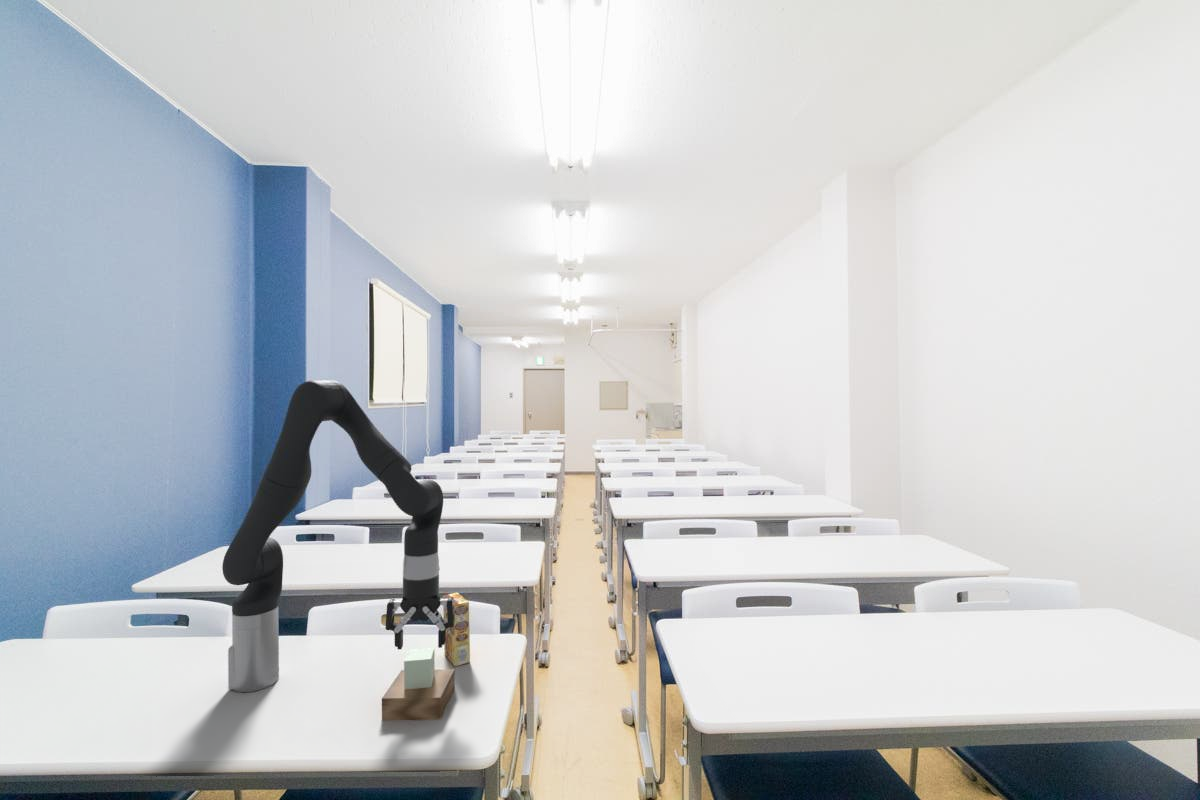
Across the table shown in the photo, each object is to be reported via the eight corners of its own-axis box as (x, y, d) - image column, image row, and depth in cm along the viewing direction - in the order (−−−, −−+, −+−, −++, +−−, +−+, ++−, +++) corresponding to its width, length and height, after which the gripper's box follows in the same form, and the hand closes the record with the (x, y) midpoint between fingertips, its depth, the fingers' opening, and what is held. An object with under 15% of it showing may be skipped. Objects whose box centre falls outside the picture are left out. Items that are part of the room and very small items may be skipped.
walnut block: (381, 722, 115) (381, 698, 115) (401, 692, 127) (401, 670, 127) (440, 721, 115) (440, 697, 115) (454, 691, 127) (454, 669, 127)
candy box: (470, 662, 140) (470, 601, 140) (454, 667, 137) (453, 605, 137) (458, 649, 147) (458, 591, 147) (442, 654, 145) (442, 594, 145)
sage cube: (404, 689, 118) (404, 661, 118) (408, 676, 124) (408, 649, 124) (431, 687, 119) (431, 659, 119) (434, 674, 125) (434, 647, 125)
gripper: (382, 579, 117) (382, 656, 117) (452, 577, 119) (451, 653, 119) (391, 568, 125) (390, 641, 125) (456, 566, 127) (456, 638, 127)
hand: (420, 647), depth 122 cm, fingers open, 8 cm apart
